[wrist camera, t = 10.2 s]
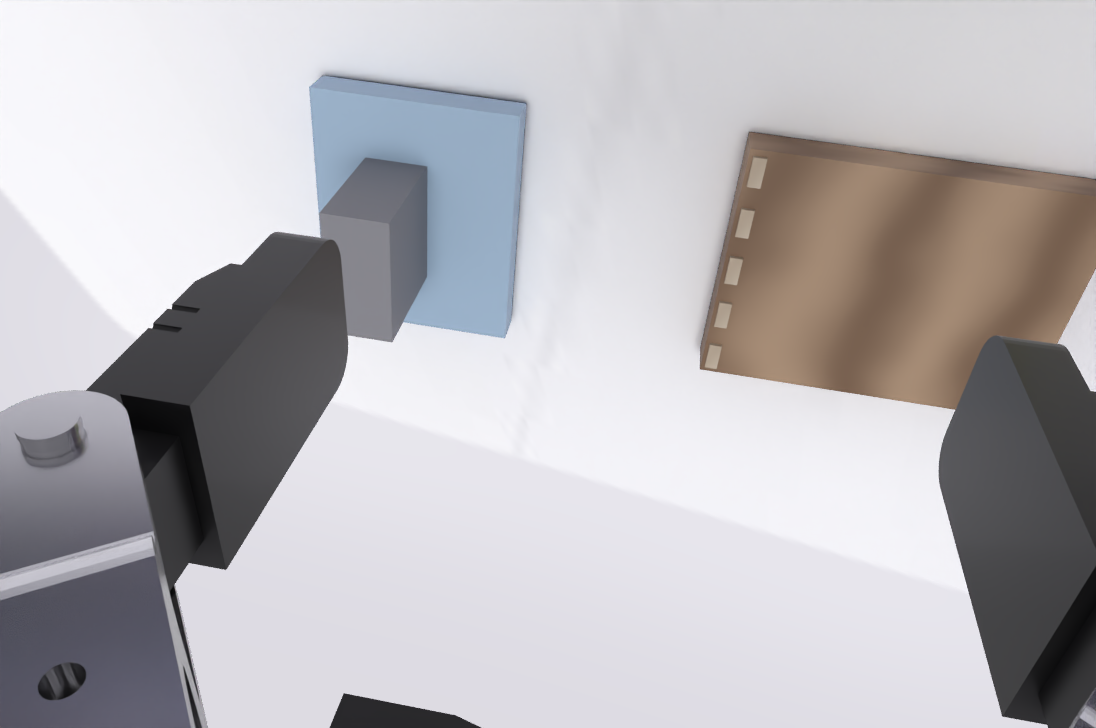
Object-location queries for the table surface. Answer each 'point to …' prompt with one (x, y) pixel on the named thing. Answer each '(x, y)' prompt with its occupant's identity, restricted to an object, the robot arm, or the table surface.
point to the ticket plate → (891, 267)
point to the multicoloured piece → (419, 204)
